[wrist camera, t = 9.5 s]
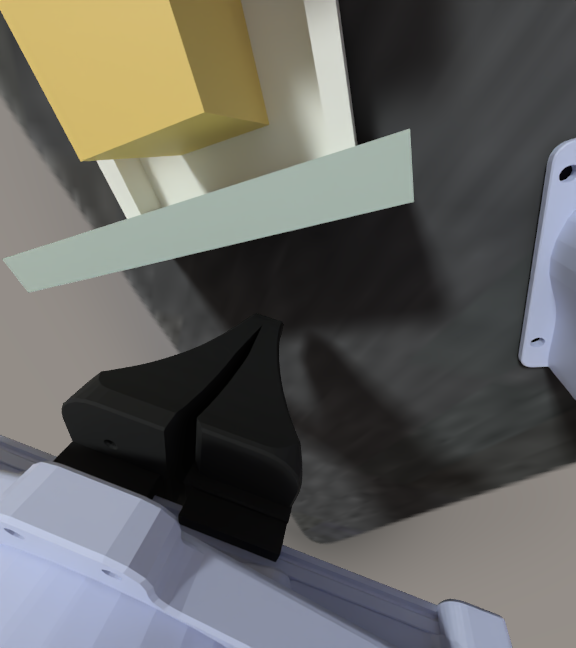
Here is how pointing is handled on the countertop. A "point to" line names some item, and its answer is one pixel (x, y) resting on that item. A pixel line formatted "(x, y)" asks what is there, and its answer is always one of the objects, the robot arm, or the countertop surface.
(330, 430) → the countertop surface
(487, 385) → the countertop surface
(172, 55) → the block
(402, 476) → the countertop surface
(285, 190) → the pale green drawer
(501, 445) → the countertop surface
